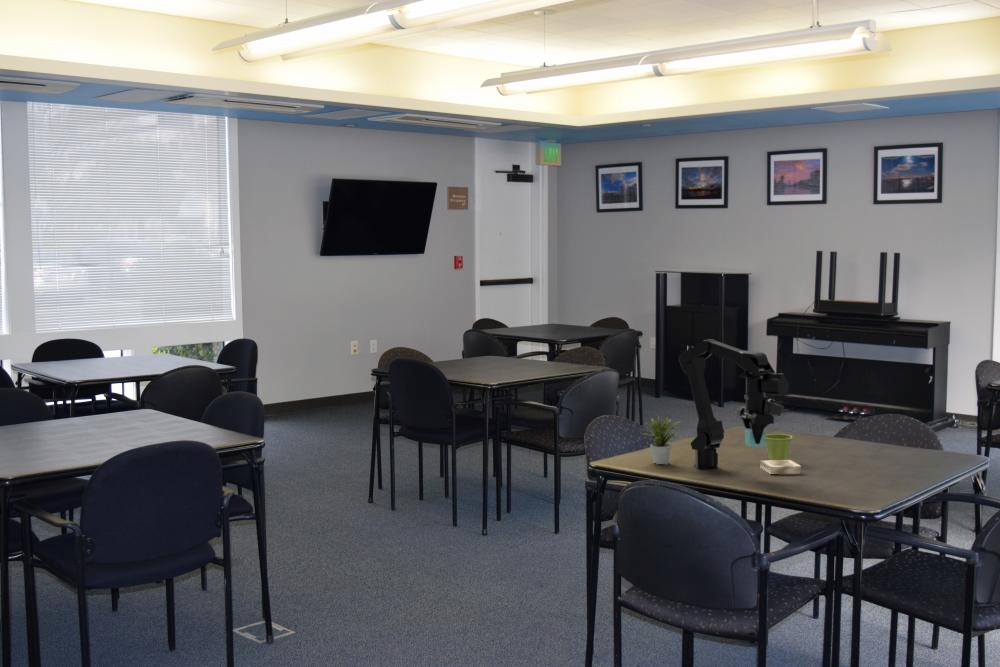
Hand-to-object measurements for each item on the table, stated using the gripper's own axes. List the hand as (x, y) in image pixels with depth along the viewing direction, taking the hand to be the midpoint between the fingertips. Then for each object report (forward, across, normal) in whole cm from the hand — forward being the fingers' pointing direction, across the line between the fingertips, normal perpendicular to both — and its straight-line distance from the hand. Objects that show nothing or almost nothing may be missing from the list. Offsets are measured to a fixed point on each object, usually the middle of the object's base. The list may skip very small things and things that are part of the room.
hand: (755, 442), depth 316 cm
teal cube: (+1, 0, 0) cm, 1 cm away
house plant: (+11, +23, +25) cm, 35 cm away
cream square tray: (+11, +7, -10) cm, 17 cm away
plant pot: (+11, +21, -14) cm, 28 cm away
